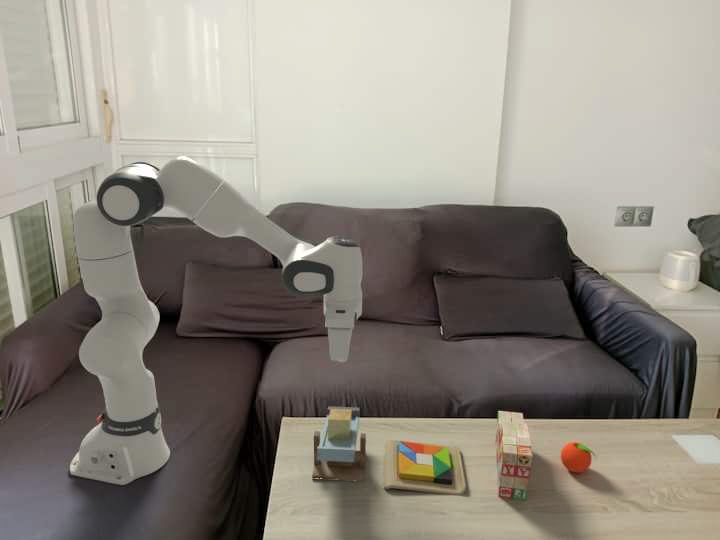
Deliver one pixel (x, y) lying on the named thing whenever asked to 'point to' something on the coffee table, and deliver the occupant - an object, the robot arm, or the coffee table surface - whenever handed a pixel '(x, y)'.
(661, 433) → the coffee table surface
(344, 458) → the beam
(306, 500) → the coffee table surface
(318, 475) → the pivot stand
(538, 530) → the coffee table surface
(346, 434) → the block
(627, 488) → the coffee table surface
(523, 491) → the stack of blocks
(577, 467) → the clementine
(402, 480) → the wooden puzzle
